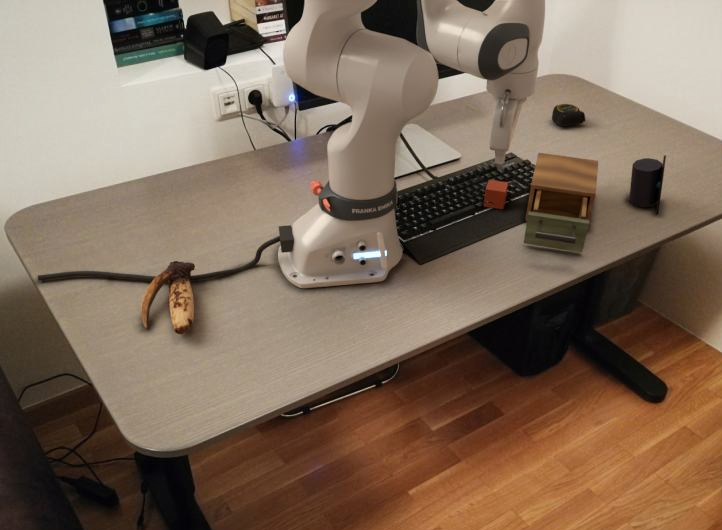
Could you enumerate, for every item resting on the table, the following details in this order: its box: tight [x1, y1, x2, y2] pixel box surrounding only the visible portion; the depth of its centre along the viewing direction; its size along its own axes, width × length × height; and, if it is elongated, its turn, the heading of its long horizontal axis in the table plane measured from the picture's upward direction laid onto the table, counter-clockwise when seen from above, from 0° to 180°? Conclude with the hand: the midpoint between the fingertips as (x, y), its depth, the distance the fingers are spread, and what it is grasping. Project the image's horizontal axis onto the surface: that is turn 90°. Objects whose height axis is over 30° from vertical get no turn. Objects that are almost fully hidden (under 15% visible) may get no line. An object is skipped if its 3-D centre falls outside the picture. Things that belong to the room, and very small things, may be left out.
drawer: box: [523, 189, 590, 253], centre depth 127 cm, size 18×11×6 cm, turn 167°
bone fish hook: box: [140, 260, 196, 335], centre depth 111 cm, size 9×5×18 cm
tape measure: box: [551, 103, 586, 127], centre depth 168 cm, size 7×7×4 cm
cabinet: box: [524, 152, 599, 222], centre depth 136 cm, size 14×12×8 cm
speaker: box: [628, 154, 667, 215], centre depth 138 cm, size 8×6×10 cm
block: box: [483, 179, 509, 210], centre depth 138 cm, size 4×4×4 cm
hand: (503, 150), depth 132 cm, fingers open, 8 cm apart
